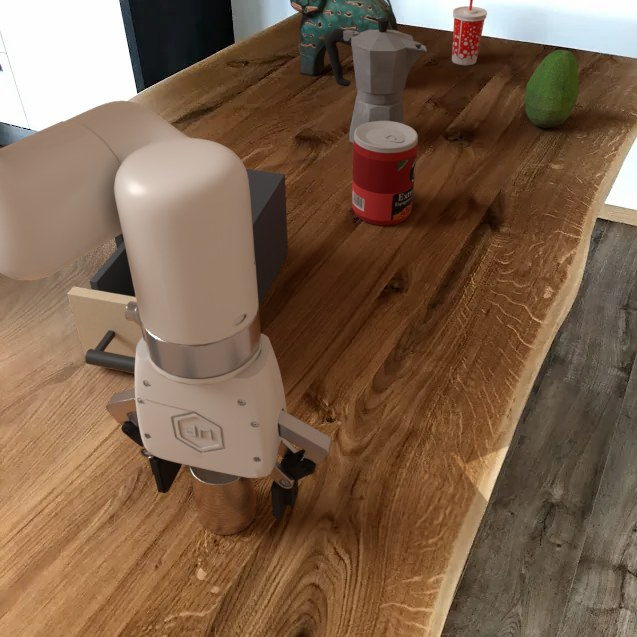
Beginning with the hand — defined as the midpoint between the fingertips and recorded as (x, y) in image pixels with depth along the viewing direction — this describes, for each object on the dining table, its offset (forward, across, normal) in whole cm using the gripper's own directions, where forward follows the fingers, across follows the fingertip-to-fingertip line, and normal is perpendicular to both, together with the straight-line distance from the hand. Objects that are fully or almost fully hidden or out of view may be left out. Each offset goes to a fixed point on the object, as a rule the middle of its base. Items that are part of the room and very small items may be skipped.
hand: (226, 491), depth 59 cm
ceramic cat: (+2, -13, +93) cm, 94 cm away
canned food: (+3, +3, +50) cm, 50 cm away
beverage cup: (+3, +7, +107) cm, 107 cm away
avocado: (+3, +23, +82) cm, 85 cm away
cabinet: (+2, -13, +30) cm, 33 cm away
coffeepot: (+3, -3, +71) cm, 71 cm away
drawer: (+2, -13, +17) cm, 21 cm away
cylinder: (+3, 0, 0) cm, 3 cm away
